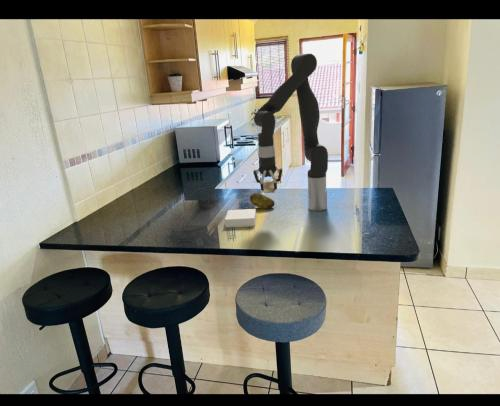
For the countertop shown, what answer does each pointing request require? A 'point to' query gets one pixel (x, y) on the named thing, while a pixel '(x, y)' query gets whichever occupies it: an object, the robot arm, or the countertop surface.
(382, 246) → the countertop surface
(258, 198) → the potato
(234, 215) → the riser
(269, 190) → the birch block
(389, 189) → the countertop surface
